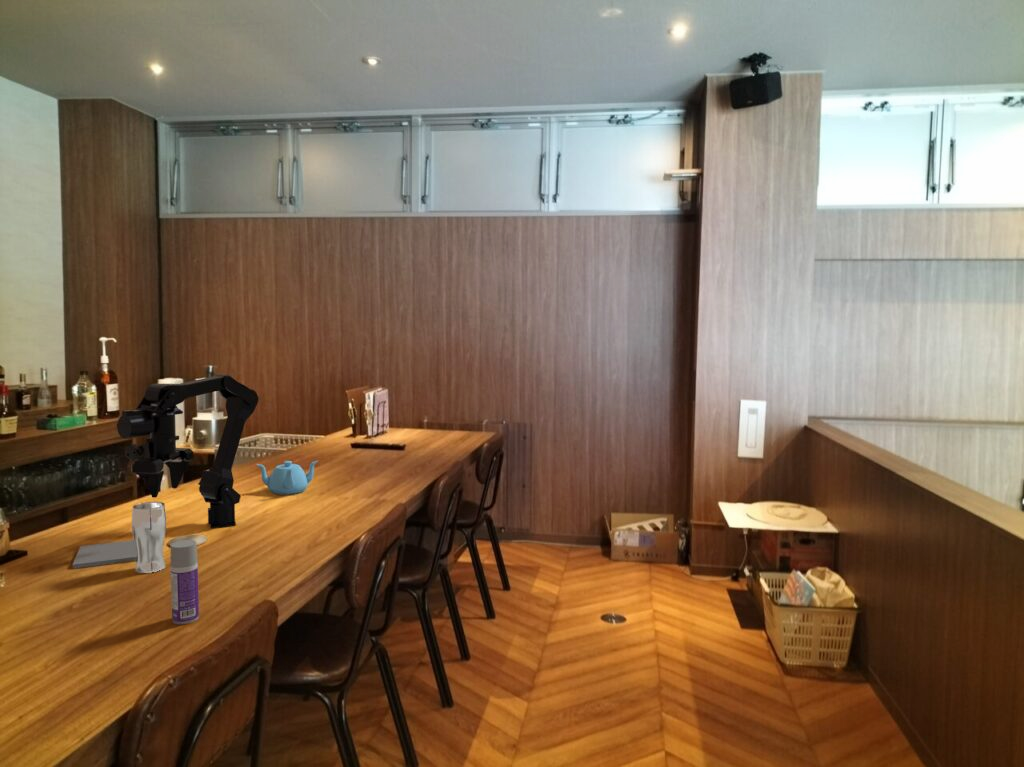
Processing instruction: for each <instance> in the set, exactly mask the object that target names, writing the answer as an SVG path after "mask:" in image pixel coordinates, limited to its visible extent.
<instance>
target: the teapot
mask: <svg viewBox="0 0 1024 767" xmlns="http://www.w3.org/2000/svg"><path fill="white" fill-rule="evenodd" d="M318 462H319V460H315V461H312V462H311V463H310V465H309V469H308V470H309V471H308V473H307V474H306V472H305V471H304V469H303V468H302V467H301V465H300V464H296V463H293V461H291V460H285V461H283V464H279V465H276V466H275V468H274V469H273V471H272V472H271V474H270V476H268V475H267V468H266V467H265V465H263V464H259V463H256V466H257V467H259V468H260V472H261V480H262V483H263V484H264V485H265V486H267V488H268V490H269V491H270V492H271V494H275V495H280V496H281V495H282V496H284V495H285V496H286V495H295V494H300V493H303V492H304V491H305V490H306V489H307V488H308V487H309V483H310V482H311V483H312V481H313V478H314V475H315V474H314V473H315V472H314V471H315V466H316V464H317V463H318Z"/></svg>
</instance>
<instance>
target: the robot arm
mask: <svg viewBox="0 0 1024 767" xmlns="http://www.w3.org/2000/svg"><path fill="white" fill-rule="evenodd" d="M214 392H218V393H219V394H220V396H221V397H222V398H224V399H225V400H226V401H225V411H226V414H227V417H226V422H225V425H224V428H223V431H222V434H221V438H220V441H219V445H218V448H217V451H216V455H215V458H214V460H213V461H214V462H213V465H212V466H211V468H209V469H208V470H205V469H203V470H202V472H201V477H200V480H199V482H198V484H197V485H199V489H198V491H199V493H200V495H201V497H203V499H204V502H205V503H208V504H209V507H208V508H207V524H208V525H209V526H210V529H214V528H215V529H216V528H223V527H233V526H236V525H237V523H236V512H235V511H236V510H235V505H236V504H240V501H241V497H242V496H241V494H240V493H238V492H237V491H236V490H235V489H234V487H233V486H234V482H235V480H234V475H233V471H232V469H233V465H234V461H235V460H236V455H237V451H238V448H239V445H240V441H241V437H242V435H243V431H244V428H245V425H246V421H247V420H248V419H249V418H250V417H251V416H252V415H253V414H254V412H255V410H256V408H257V406H258V403H259V400H260V399H259V395H258V393H257V391H256V390H254V389H251V388H249V387H248V386H247V385H245V384H242V383H241V382H239V381H237V380H236V379H235V378H234V377H232V376H231V375H228V374H216V375H214V376H209V377H205V378H200V379H195V380H190V381H186V382H181V383H152V384H150V385H148V386H147V388H146V390H145V392H144V396H142V398H141V400H140V401H139V403H138V404H137V406H136V407H135V410H134V409H132V410H127V409H126V410H121V415H120V417H119V418H118V420H117V423H116V431H117V433H118V435H119V437H121V439H123V440H125V439H133V438H138V437H146V436H150V437H147V438H146V439H145V443H144V444H142V445H139V446H138V445H137V444H136V443H133V444H129V445H127V446H125V454H124V457H126V458H127V459H130V462H132V463H131V464H130V466H131V467H130V468H131V469H130V470H131V473H132V474H133V473H134V474H135V475H136V476H139V477H141V478H142V479H143V480H144V482H145V484H146V487H147V489H148V491H149V493H150V495H151V498H156V499H157V497H158V495H159V492H160V488H161V485H162V481H163V477H164V473H165V471H164V470H163V469H164V465H165V466H166V467H168V469H169V476H170V482H171V483H170V484H171V488H172V489H175V490H176V489H177V488H178V487H179V485H180V482H181V480H182V478H183V476H184V474H185V471H186V470H187V468H188V466H189V464H190V463H191V462H192V459H194V450H192V449H191V447H177V441H180V435H176V415H183V413H184V411H183V410H181V409H180V408H179V407H178V406H177V405H180V404H182V403H183V402H184V401H186V400H188V399H189V398H193V397H198V396H202V395H206V394H210V393H214Z"/></svg>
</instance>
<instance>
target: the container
mask: <svg viewBox="0 0 1024 767" xmlns="http://www.w3.org/2000/svg"><path fill="white" fill-rule="evenodd" d="M197 547H198V546H197V545H196V541H194V540H182V541H177V542H174V543H172V544H171V547H170V591H171V592H170V594H171V598H170V599H171V620H172V623H173V624H175V625H187V624H191V623H194V622H196V621H197V620H199V618H200V611H199V610H200V607H199V606H200V605H199V604H200V603H199V566H198V551H197V550H198V549H197Z"/></svg>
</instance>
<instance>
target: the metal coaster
mask: <svg viewBox="0 0 1024 767" xmlns="http://www.w3.org/2000/svg"><path fill="white" fill-rule="evenodd" d="M182 540H194V541H196V545H198V546H201V545H203V543H204V544H205V543H207V541H208V538H207V536H206V535H202V534H188V535H187V534H186V535H181V536H177V537H174V538H171V539H169V541H168V546H169V545H170V546H171V544H172V543H174V542H177V541H182ZM170 546H169V547H170Z"/></svg>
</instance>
